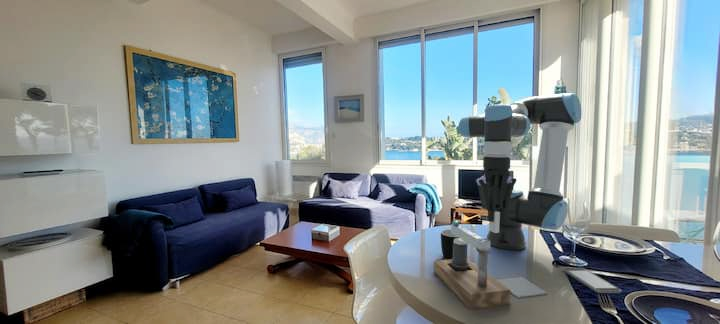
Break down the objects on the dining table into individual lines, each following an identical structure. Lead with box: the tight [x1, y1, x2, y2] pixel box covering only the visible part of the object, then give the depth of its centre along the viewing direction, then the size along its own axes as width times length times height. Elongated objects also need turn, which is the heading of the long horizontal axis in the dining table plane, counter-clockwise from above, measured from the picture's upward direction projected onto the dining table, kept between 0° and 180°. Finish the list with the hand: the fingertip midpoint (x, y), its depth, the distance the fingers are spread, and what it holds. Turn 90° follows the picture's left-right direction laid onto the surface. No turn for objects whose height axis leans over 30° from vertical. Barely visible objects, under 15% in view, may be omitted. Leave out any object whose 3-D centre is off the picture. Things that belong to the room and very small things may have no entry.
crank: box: [450, 220, 491, 254], centre depth 88 cm, size 18×4×4 cm, turn 11°
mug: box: [440, 228, 458, 260], centre depth 111 cm, size 12×9×10 cm
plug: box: [451, 238, 469, 272], centre depth 94 cm, size 5×5×13 cm
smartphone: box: [562, 267, 622, 294], centre depth 92 cm, size 7×1×15 cm
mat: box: [497, 276, 548, 299], centre depth 88 cm, size 10×10×1 cm
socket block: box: [433, 252, 512, 310], centre depth 89 cm, size 12×22×14 cm, turn 12°
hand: (494, 231), depth 90 cm, fingers closed
